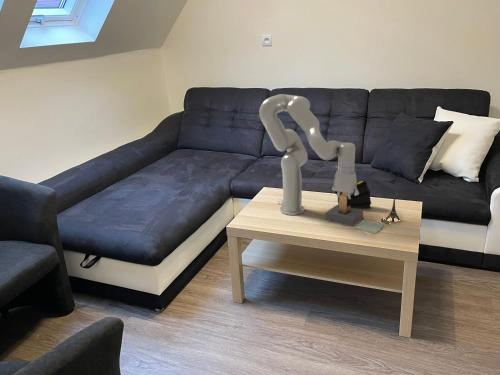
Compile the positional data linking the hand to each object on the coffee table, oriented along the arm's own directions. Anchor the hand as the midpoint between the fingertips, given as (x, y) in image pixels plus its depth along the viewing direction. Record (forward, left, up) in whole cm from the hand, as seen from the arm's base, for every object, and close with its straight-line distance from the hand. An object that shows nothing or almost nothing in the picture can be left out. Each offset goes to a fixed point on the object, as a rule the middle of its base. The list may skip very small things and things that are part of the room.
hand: (344, 204), depth 209 cm
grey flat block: (0, 0, -8) cm, 8 cm away
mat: (+14, -2, -8) cm, 16 cm away
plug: (0, 0, -5) cm, 5 cm away
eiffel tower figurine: (+19, +12, -8) cm, 24 cm away
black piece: (-1, +17, -8) cm, 19 cm away
